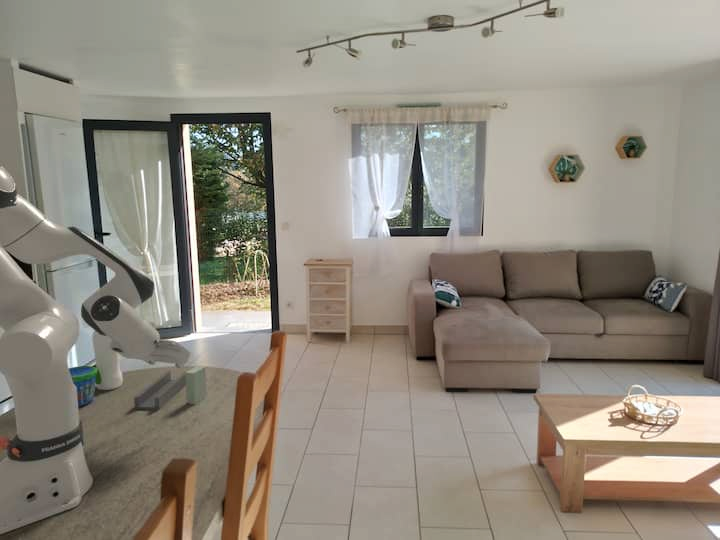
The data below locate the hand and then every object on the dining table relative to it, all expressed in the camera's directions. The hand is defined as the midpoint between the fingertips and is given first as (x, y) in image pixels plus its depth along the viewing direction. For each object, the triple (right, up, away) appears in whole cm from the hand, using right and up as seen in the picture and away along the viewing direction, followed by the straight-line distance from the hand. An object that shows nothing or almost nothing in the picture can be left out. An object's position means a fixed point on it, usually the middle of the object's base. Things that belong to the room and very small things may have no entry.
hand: (167, 363), depth 136 cm
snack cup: (-32, -14, +12) cm, 37 cm away
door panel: (+4, -14, +14) cm, 20 cm away
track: (-8, -13, +18) cm, 24 cm away
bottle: (-29, -13, +25) cm, 40 cm away
